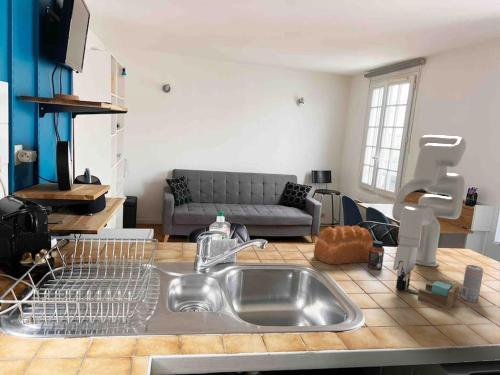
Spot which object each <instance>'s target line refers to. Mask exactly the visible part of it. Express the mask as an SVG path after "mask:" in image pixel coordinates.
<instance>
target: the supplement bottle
mask: <svg viewBox="0 0 500 375" xmlns="http://www.w3.org/2000/svg"><path fill="white" fill-rule="evenodd" d="M372 244H373V245H372V246H370V250H369V258H368V261H367V267H368V268H370V269H373V270H381V269H382V268H383V263H384V257H385V256H384V255H385V248H384V246H383V245H384V243H383V242H382V241H380V240H373V242H372Z"/></svg>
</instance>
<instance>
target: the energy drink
mask: <svg viewBox="0 0 500 375" xmlns="http://www.w3.org/2000/svg"><path fill="white" fill-rule="evenodd" d="M483 269H484V268H482V267H481V266H478V265H474V264H467V265H466V267H465V269H464V275H463V281H462V282H463V284H462V288H461V296H460V297H461V299H462V300H463V301H467V302H470V303H477V302H479V298H480V293H481V288H482V280H483V274H484V270H483Z"/></svg>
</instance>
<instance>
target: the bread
mask: <svg viewBox="0 0 500 375" xmlns="http://www.w3.org/2000/svg"><path fill="white" fill-rule="evenodd" d="M317 237H318V238H317V240H316V242H315V245H314V249H313V257H314V258H316V259H317V260H318V261H320V262H322V263H325V264H328V265H343V264H346V265H347V264H352V263H362V262H363V263H366V262H367V263H368V258H369V250H370V246H372V245H373V241H374V240H373V235H372V234H371V233H370V231H369V230H368V229H366V228H365V227H360V226H359V225H352V226H350V225H343V226H341V225H337V226H335V227H334V228H333V227H331V226H327V227H325V228H324V229H322V230H321V231H320V232H319V233H318V236H317Z"/></svg>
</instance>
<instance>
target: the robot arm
mask: <svg viewBox="0 0 500 375" xmlns="http://www.w3.org/2000/svg"><path fill="white" fill-rule="evenodd" d="M466 144H467V142H466V140H465V138H463V137H462V136H450V135H437V134H435V135H434V134H433V135H432V134H429V135H428V134H426V135H423V136H421V137H420V138H419V141H418V146H419V147H418V148H419V149H420V150H419V152H418V156H417V160H416V164H415V168H414V174H413V176H412V178H411V179H409V180H408V181H407V182H405V183H404V184H403V185H401V187H400V188H399V190H398V191H397V192H396V195H395V198H394V202H393V205H392V212H391V214H392V218H393V219H394V220H396V221H398V222H399V228H398V236H397V244H398V245H397V248H396V252H395V257H394V263H393V267H392V268H393V269H392V270H394V271H396V284H395V289H396V290H397V291H398V290H399V291H402V292H405V288H406V281H405V280H406V275H407V274H409V276H408V283H407V288H409V289H410V281H411V277H412V276H411V275H412V274H411V273H412V270H414V269H415V266H416V265H420V266H425V267H437V266H439V265H440V261H439V260H437V255H438V254H437V253H438V246H439V240H440V233H441V232H440V231H441V225H440V222H439V221H438V219H437V218H442V219H443V218H444V219H450V220H457V219H459V218H460V216H461V214H462V210H463V202H464V196H465V188H466V187H465V186H466V183H465V177H464V176H463V175H461V174H459V173H454V172H453V173H452V172H451V173H450V172H447V170H448V167H449V168H454V167H457V166H458V165H459V164H460V162H461V160H462V158H463V156H464V153H465V151H466V149H467V148H466V147H467V146H466ZM422 189H424V190H425V191H426V192H428V193H427V194H423V195H421V196H420V197H419V198H418V203H411V202H405V198H406V197H407V196H408V195H409V194H411V193H413V192H416V191H417V190H422ZM429 193H431V194H429ZM432 193H433V194H432ZM443 195H445V196H443ZM403 274H404V276H403Z"/></svg>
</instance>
